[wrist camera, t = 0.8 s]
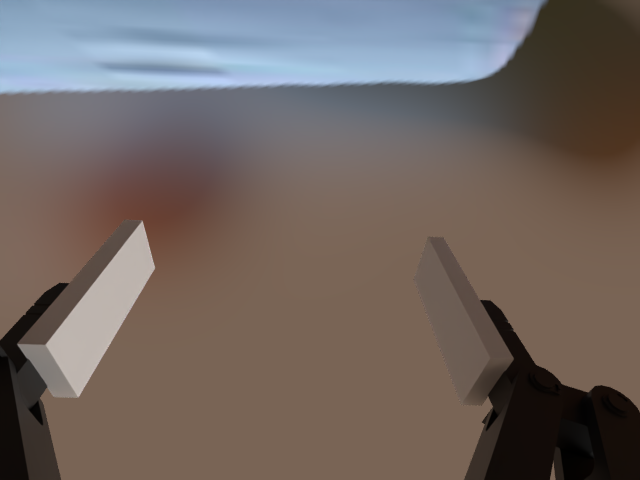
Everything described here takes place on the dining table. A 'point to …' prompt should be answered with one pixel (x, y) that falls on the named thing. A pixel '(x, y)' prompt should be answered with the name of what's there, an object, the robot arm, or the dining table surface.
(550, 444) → the robot arm
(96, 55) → the dining table surface
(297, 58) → the dining table surface
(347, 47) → the dining table surface
